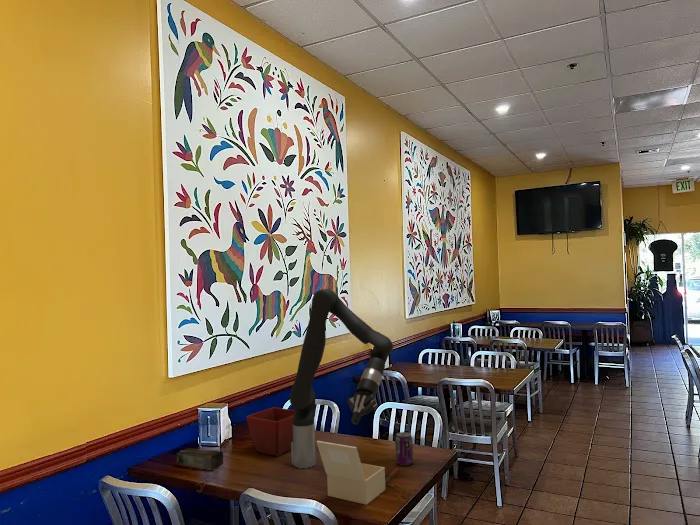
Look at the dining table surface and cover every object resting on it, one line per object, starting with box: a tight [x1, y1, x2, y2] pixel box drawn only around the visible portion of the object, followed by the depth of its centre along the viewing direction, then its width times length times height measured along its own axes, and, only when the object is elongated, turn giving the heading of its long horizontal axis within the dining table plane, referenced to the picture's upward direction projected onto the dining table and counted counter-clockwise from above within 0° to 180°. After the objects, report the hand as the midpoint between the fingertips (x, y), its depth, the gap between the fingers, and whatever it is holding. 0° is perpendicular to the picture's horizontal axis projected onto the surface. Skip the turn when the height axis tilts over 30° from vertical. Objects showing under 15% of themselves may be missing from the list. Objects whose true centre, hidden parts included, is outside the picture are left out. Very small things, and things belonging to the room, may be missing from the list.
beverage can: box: [394, 431, 414, 467], centre depth 210 cm, size 7×7×12 cm
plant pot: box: [246, 406, 295, 456], centre depth 232 cm, size 19×19×17 cm
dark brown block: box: [176, 447, 224, 471], centre depth 215 cm, size 8×19×7 cm, turn 67°
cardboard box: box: [326, 462, 386, 505], centre depth 182 cm, size 16×14×8 cm
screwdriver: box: [385, 467, 401, 484], centre depth 194 cm, size 16×1×2 cm, turn 153°
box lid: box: [316, 440, 366, 482], centre depth 174 cm, size 16×14×1 cm
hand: (354, 423), depth 183 cm, fingers closed
